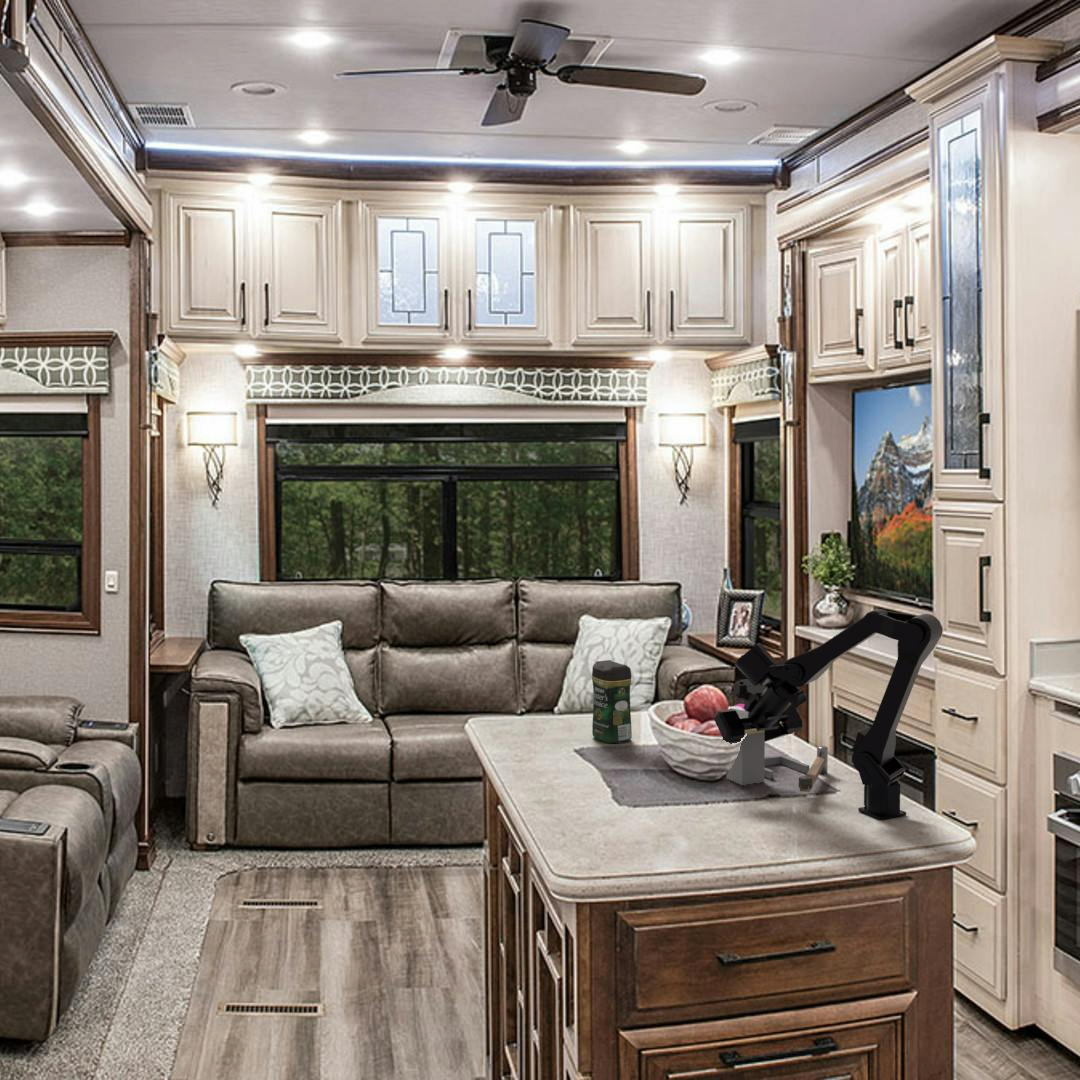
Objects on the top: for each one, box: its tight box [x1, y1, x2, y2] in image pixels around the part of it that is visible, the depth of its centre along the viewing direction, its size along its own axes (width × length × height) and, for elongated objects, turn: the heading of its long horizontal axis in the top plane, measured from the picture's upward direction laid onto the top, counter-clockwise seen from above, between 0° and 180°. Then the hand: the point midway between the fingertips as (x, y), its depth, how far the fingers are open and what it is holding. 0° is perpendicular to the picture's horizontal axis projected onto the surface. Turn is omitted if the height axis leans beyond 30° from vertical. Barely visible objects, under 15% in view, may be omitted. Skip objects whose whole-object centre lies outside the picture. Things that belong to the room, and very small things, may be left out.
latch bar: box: [798, 756, 826, 793], centre depth 249 cm, size 3×22×2 cm, turn 159°
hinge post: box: [816, 745, 829, 775], centre depth 261 cm, size 2×2×6 cm
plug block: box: [726, 729, 766, 786], centre depth 256 cm, size 6×6×11 cm
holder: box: [764, 754, 810, 780], centre depth 264 cm, size 10×10×2 cm
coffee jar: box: [591, 659, 633, 744], centre depth 291 cm, size 10×8×19 cm
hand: (742, 743), depth 257 cm, fingers open, 9 cm apart
